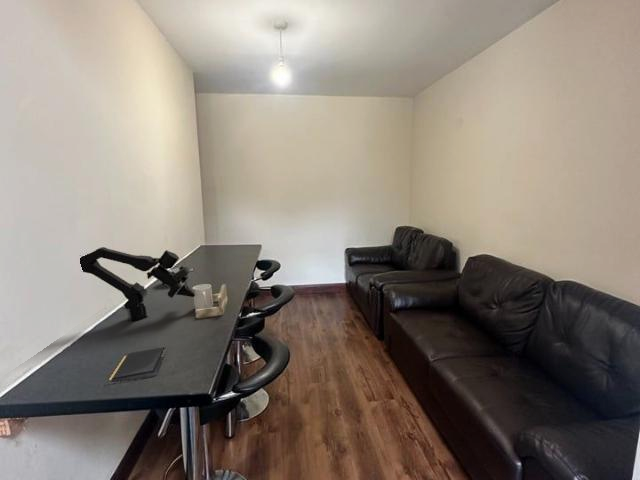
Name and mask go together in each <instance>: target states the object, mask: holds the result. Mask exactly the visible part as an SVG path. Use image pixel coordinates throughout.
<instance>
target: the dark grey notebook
mask: <svg viewBox="0 0 640 480" xmlns="http://www.w3.org/2000/svg"><path fill="white" fill-rule="evenodd" d="M166 348H167V347H165V346H163V347H157V348H153V349H152V348H151V349H144V350H140V351H135V352H133V351H132V352H129V353H126V354H124V355H126V356H124V355H123V356H124V357H123V356H122V357H123V359H122V358H121V359H122V360H121V359H120V361H121V362H120V361H119V362H120V363H118V364H119V365H118V364H117V365H118V366H117V365H116V367H117V368H116V367H115V368H116V369H115V368H114V370H115V371H114V370H113V371H114V372H113V371H112V373H113V374H112V373H111V374H112V375H111V374H110V376H111V377H110V376H109V377H110V378H109V377H108V379H109V380H112V381H111V382H119V381H120V382H122V381H123V382H124V381H130V380H135V381H138V380H137V379H141V380H145V379H151V378H154V377H157V375H158V373H159V371H160V369H161V366H162V364H163V362H162V360H163V361H164V359H165V357H161V355H162V353H163V350H164V349H166ZM127 354H128V355H127ZM163 358H164V359H163ZM130 382H131V381H130ZM124 383H125V382H124Z"/></svg>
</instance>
